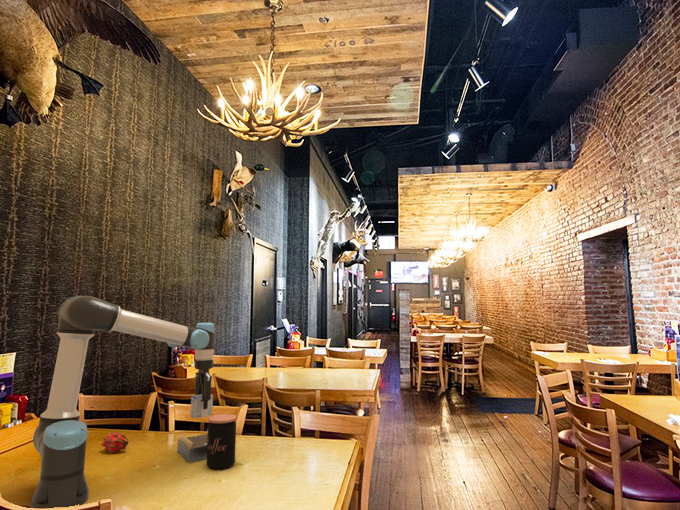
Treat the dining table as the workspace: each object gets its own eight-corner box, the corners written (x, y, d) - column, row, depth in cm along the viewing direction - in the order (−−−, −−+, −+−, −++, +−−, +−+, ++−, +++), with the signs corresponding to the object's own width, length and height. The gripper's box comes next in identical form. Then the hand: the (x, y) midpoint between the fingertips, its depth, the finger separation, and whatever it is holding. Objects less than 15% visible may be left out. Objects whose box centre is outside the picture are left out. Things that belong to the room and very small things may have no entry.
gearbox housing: (230, 454, 176) (230, 436, 177) (189, 463, 166) (189, 444, 167) (216, 444, 188) (217, 428, 189) (177, 451, 178) (178, 434, 179)
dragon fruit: (103, 453, 181) (125, 460, 177) (92, 446, 175) (114, 453, 171) (116, 433, 187) (137, 440, 183) (105, 426, 180) (127, 433, 177)
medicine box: (206, 413, 182) (207, 392, 183) (212, 415, 179) (213, 394, 181) (190, 417, 176) (190, 395, 178) (195, 418, 174) (196, 397, 175)
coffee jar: (200, 467, 161) (202, 418, 163) (220, 459, 170) (221, 412, 172) (221, 473, 156) (223, 422, 158) (240, 463, 165) (242, 415, 167)
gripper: (220, 360, 176) (218, 418, 173) (205, 356, 190) (203, 409, 188) (202, 362, 172) (200, 421, 169) (188, 357, 186) (186, 412, 183)
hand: (201, 415), depth 178 cm, fingers closed on medicine box, 5 cm apart
